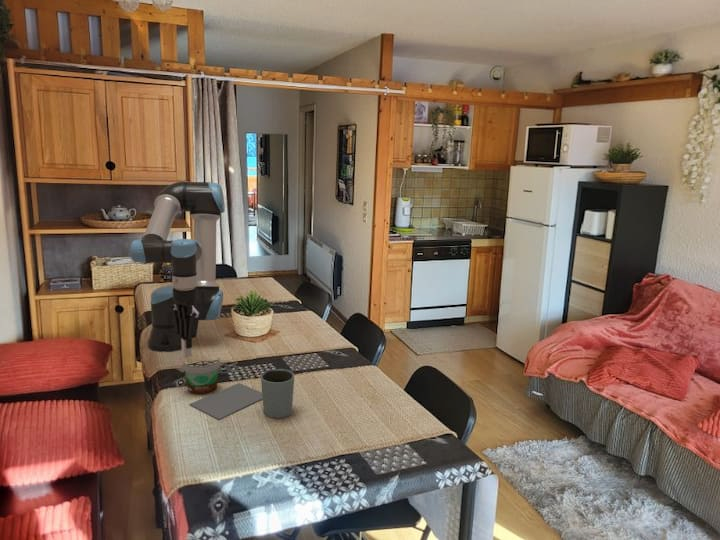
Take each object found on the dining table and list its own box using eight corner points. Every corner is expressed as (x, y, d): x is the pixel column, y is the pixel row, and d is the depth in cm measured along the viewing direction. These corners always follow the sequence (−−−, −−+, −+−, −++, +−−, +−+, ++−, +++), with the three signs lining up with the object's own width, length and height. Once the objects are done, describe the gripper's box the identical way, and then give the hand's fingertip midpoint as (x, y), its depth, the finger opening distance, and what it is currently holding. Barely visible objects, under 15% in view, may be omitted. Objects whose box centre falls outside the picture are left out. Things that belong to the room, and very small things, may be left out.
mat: (189, 405, 165) (189, 404, 165) (239, 383, 181) (239, 382, 181) (218, 420, 157) (218, 419, 157) (268, 396, 173) (268, 395, 173)
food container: (186, 399, 169) (185, 369, 167) (182, 391, 174) (181, 362, 172) (225, 392, 175) (224, 363, 172) (220, 384, 180) (220, 356, 178)
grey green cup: (279, 423, 157) (279, 385, 155) (253, 413, 163) (253, 376, 160) (300, 409, 166) (301, 373, 163) (275, 400, 171) (275, 365, 168)
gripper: (162, 286, 173) (165, 354, 178) (187, 293, 165) (189, 365, 171) (182, 282, 179) (184, 348, 184) (207, 289, 171) (208, 358, 177)
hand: (186, 356), depth 177 cm, fingers closed
